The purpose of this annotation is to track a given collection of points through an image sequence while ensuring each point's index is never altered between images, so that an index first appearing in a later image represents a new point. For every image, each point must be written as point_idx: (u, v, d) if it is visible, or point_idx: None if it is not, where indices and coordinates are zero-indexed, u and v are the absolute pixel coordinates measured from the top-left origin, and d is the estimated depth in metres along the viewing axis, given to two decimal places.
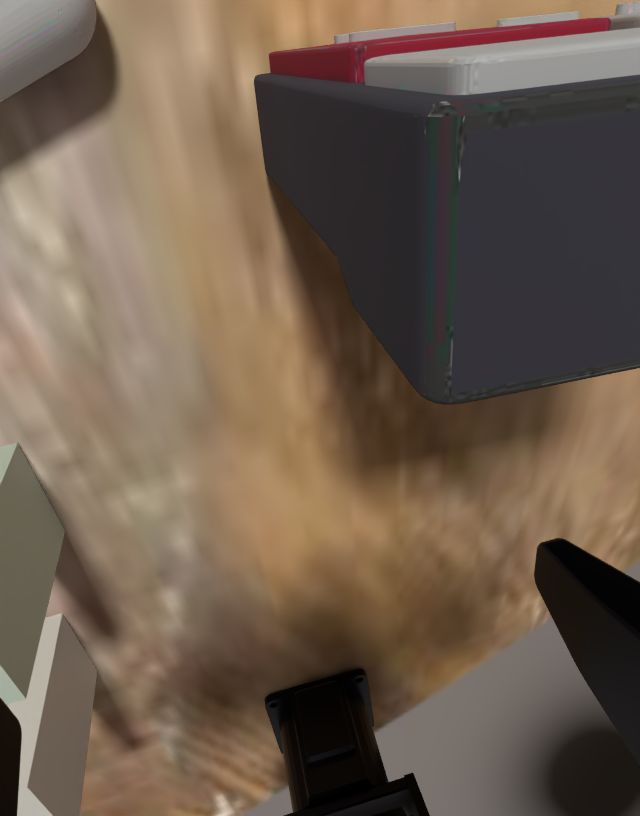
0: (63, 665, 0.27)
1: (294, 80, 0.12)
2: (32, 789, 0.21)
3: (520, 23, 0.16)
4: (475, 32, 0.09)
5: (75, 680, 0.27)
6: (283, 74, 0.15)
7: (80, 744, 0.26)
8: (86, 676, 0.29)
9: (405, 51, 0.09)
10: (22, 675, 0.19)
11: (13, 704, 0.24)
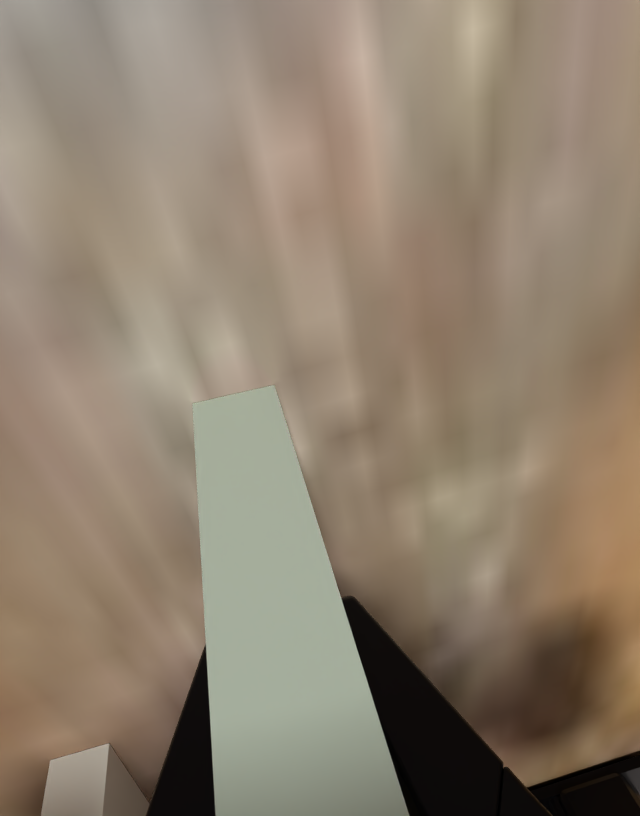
0: None
1: None
2: None
3: None
4: None
5: None
6: None
7: None
8: None
9: None
10: None
11: None
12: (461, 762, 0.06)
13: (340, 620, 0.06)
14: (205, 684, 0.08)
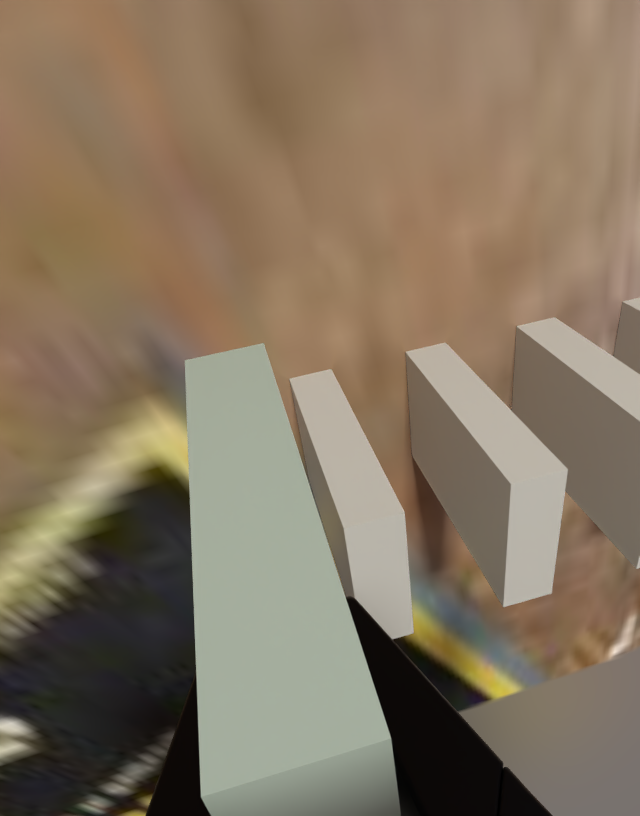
0: None
1: None
2: None
3: None
4: None
5: None
6: None
7: None
8: None
9: None
10: None
11: None
12: (461, 762, 0.06)
13: (317, 533, 0.07)
14: None
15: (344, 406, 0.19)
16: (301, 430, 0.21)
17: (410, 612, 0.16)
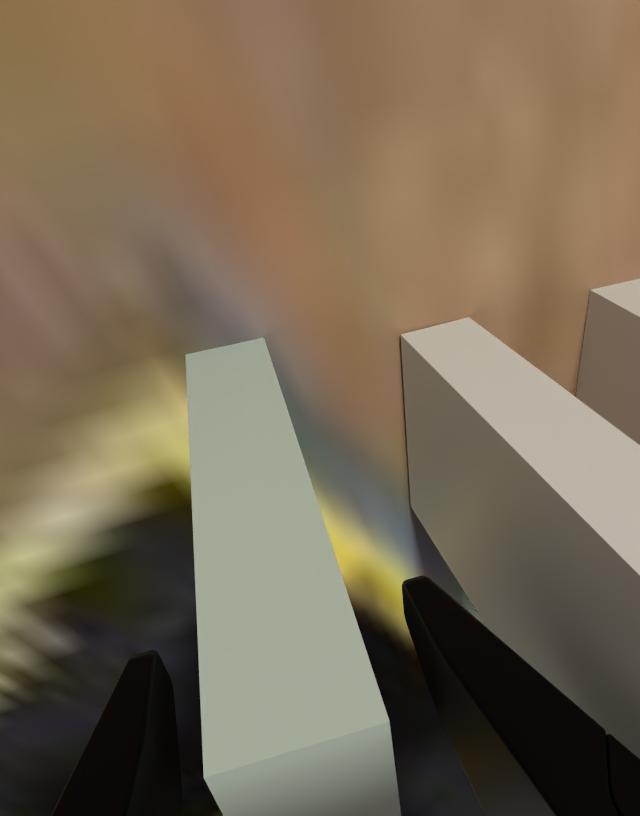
0: None
1: None
2: None
3: None
4: None
5: None
6: None
7: None
8: None
9: None
10: None
11: None
12: (564, 730, 0.06)
13: (317, 523, 0.07)
14: (116, 710, 0.08)
15: (532, 373, 0.10)
16: (422, 423, 0.12)
17: None
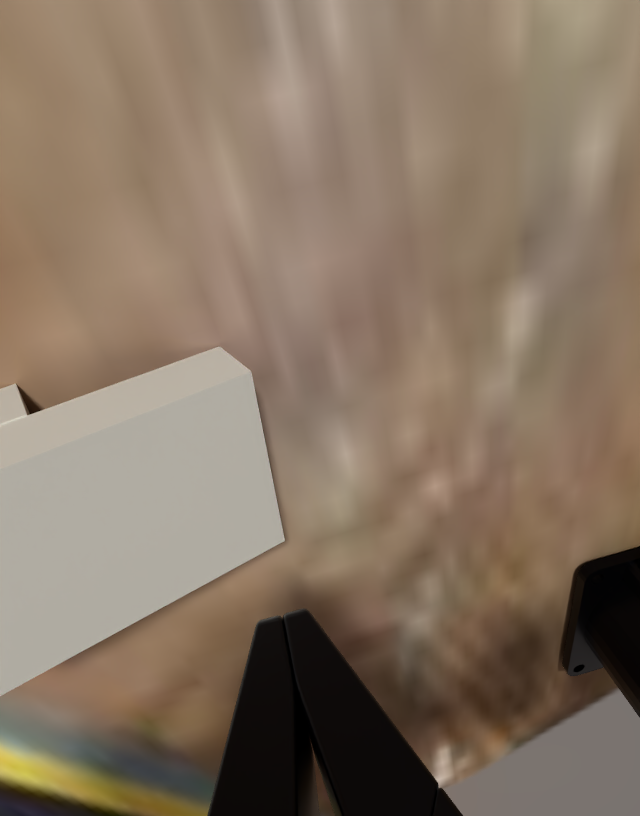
0: (165, 454, 0.11)
1: None
2: None
3: None
4: None
5: (188, 506, 0.12)
6: None
7: (105, 605, 0.12)
8: (239, 525, 0.13)
9: None
10: None
11: (22, 423, 0.11)
12: (396, 783, 0.06)
13: None
14: (259, 669, 0.08)
15: None
16: None
17: None
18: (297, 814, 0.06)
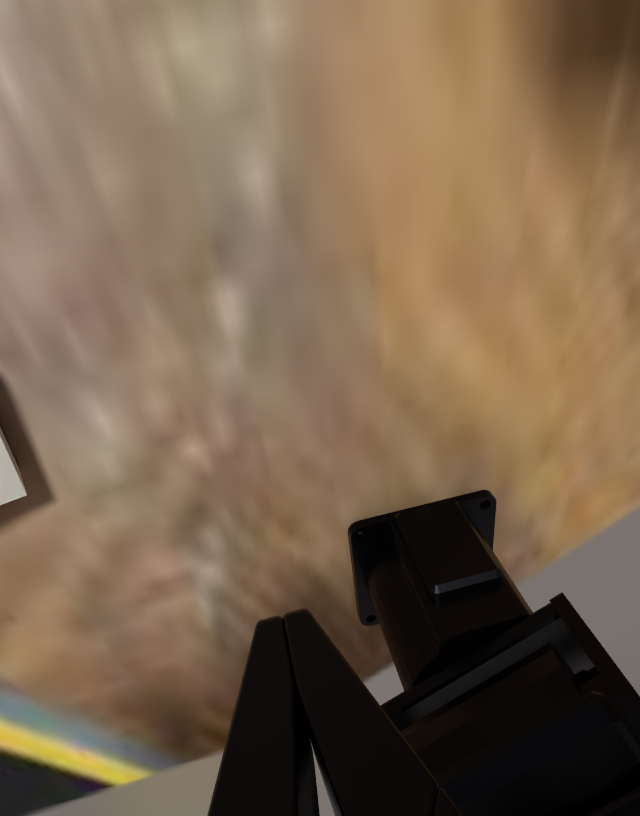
0: None
1: None
2: None
3: None
4: None
5: None
6: None
7: None
8: None
9: None
10: None
11: None
12: (396, 783, 0.06)
13: None
14: (259, 668, 0.08)
15: None
16: None
17: None
18: (297, 814, 0.06)
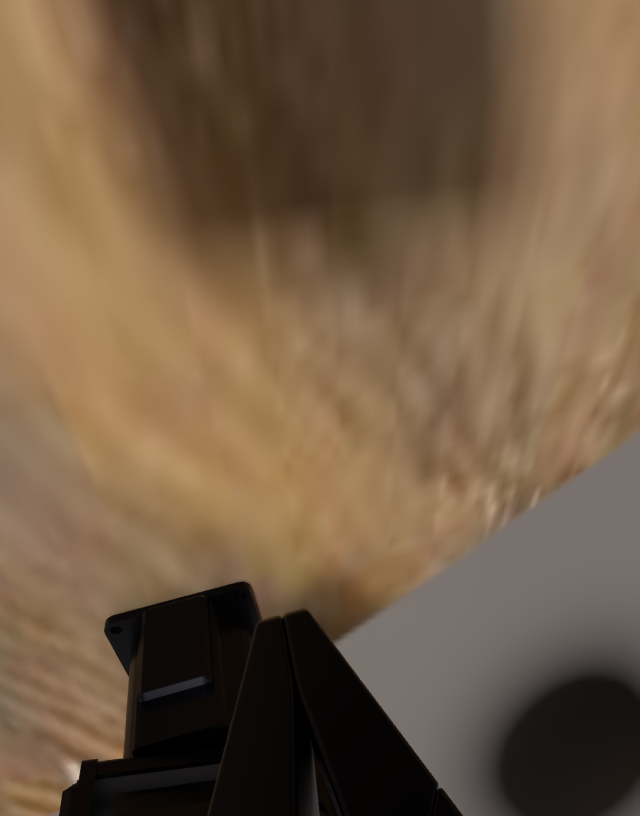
0: None
1: None
2: None
3: None
4: None
5: None
6: None
7: None
8: None
9: None
10: None
11: None
12: (396, 783, 0.06)
13: None
14: (259, 668, 0.08)
15: None
16: None
17: None
18: (297, 814, 0.06)
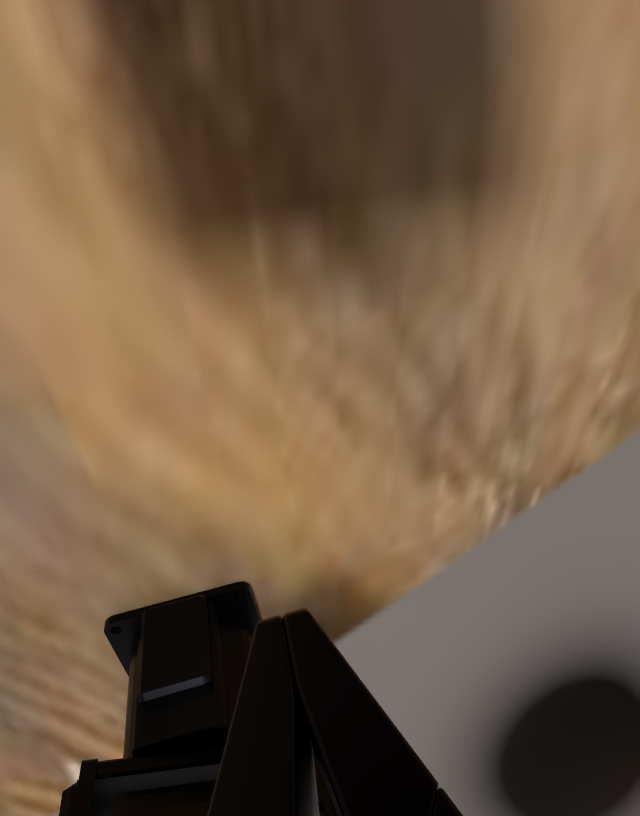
0: None
1: None
2: None
3: None
4: None
5: None
6: None
7: None
8: None
9: None
10: None
11: None
12: (396, 783, 0.06)
13: None
14: (259, 669, 0.08)
15: None
16: None
17: None
18: (297, 814, 0.06)
